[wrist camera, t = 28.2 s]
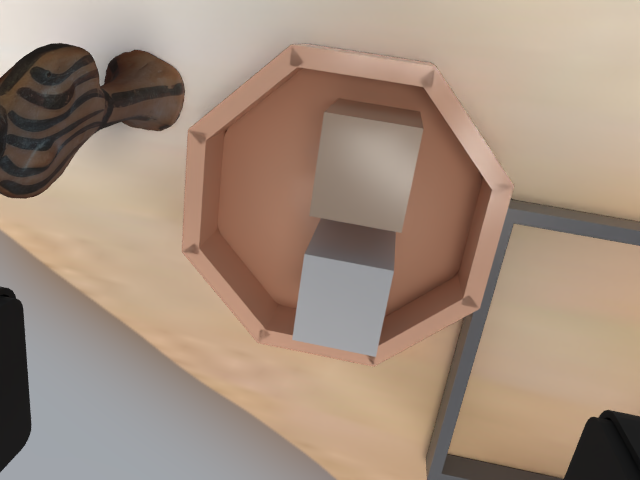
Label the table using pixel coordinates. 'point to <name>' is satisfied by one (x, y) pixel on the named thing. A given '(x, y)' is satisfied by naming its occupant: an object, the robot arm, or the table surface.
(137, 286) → the table surface
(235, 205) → the bowl
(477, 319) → the tray
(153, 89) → the figurine
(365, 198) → the greyish beige block
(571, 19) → the table surface
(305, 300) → the grey sharp-edged cuboid
